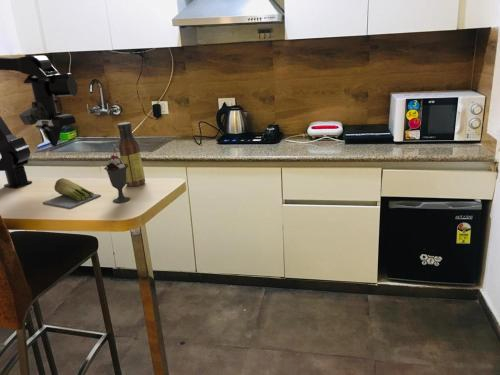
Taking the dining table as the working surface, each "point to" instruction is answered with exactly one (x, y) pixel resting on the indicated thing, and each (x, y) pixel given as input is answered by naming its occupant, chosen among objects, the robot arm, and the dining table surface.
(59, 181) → the fennel bulb
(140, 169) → the sauce bottle
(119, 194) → the sundae
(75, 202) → the mat
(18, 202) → the dining table surface
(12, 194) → the dining table surface
